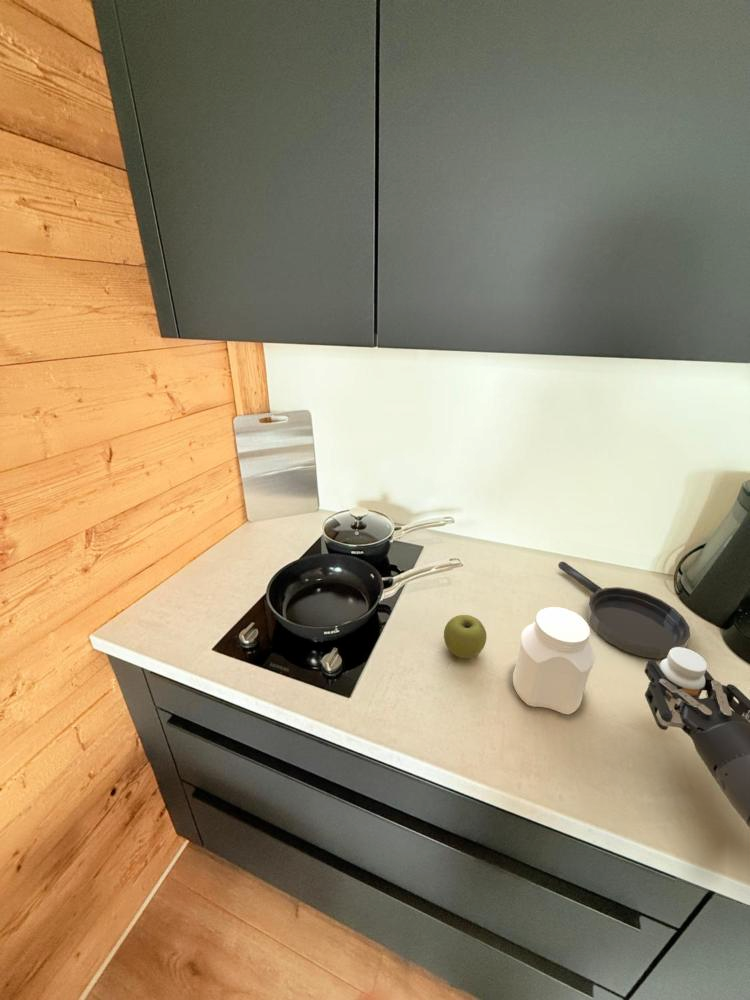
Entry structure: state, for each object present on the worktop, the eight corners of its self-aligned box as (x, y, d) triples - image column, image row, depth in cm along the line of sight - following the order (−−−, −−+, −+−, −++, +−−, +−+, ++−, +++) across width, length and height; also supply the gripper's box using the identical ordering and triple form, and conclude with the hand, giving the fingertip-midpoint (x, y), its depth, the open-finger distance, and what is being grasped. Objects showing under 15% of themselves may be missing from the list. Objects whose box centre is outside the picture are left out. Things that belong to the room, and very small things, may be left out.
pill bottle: (676, 728, 63) (698, 680, 58) (639, 698, 67) (656, 652, 63) (698, 712, 65) (720, 665, 61) (660, 684, 70) (679, 639, 65)
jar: (577, 674, 78) (596, 611, 71) (584, 719, 70) (607, 653, 63) (512, 660, 81) (524, 598, 74) (512, 702, 73) (526, 637, 66)
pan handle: (561, 565, 107) (563, 559, 106) (604, 596, 96) (606, 589, 95) (555, 567, 106) (557, 561, 105) (598, 599, 95) (600, 591, 94)
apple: (483, 669, 79) (488, 641, 76) (440, 662, 81) (443, 634, 78) (483, 640, 86) (487, 613, 83) (443, 634, 87) (446, 607, 84)
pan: (626, 590, 100) (630, 579, 98) (705, 644, 85) (711, 632, 83) (567, 610, 94) (570, 599, 92) (641, 672, 79) (646, 659, 77)
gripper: (829, 758, 49) (726, 647, 64) (700, 753, 49) (628, 645, 64) (800, 796, 52) (709, 682, 67) (680, 791, 53) (616, 680, 68)
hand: (670, 664), depth 66 cm, fingers closed on pill bottle, 5 cm apart
